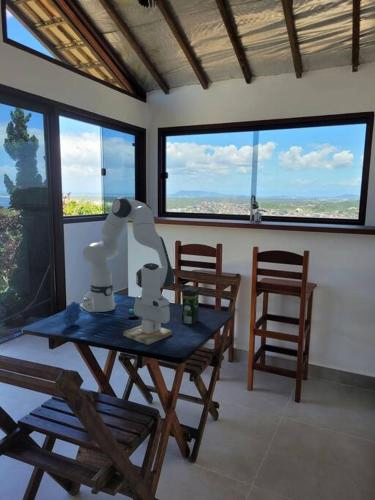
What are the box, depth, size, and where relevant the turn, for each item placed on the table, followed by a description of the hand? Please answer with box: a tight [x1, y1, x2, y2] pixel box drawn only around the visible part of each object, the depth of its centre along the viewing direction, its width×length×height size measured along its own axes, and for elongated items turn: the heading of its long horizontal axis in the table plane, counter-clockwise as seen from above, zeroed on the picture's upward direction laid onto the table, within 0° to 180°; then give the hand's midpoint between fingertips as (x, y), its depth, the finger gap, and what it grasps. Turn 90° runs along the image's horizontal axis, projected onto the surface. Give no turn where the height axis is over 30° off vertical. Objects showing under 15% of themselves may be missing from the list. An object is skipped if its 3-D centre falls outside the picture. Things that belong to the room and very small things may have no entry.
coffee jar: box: [181, 285, 200, 325], centre depth 187 cm, size 10×8×19 cm
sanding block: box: [141, 319, 162, 335], centre depth 166 cm, size 4×8×6 cm, turn 141°
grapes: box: [62, 301, 82, 328], centre depth 178 cm, size 12×7×12 cm, turn 153°
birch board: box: [122, 324, 173, 345], centre depth 168 cm, size 16×16×2 cm
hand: (151, 328), depth 166 cm, fingers closed on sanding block, 4 cm apart
